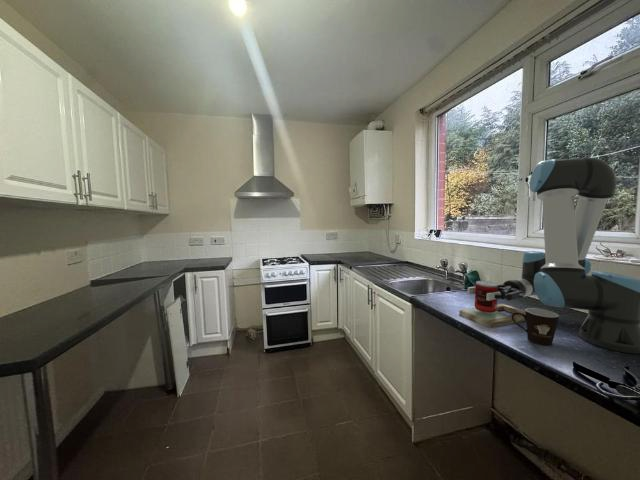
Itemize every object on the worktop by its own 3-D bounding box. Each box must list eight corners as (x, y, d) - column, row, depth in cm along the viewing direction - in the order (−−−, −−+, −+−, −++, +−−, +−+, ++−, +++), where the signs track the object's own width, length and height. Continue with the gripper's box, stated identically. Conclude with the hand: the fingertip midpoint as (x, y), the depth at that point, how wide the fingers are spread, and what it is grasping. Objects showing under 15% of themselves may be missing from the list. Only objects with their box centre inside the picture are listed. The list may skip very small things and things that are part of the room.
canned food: (489, 306, 112) (491, 280, 111) (500, 313, 104) (502, 286, 103) (470, 305, 112) (472, 280, 111) (480, 312, 105) (481, 285, 104)
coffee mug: (560, 342, 88) (562, 313, 87) (551, 350, 83) (554, 319, 82) (518, 330, 97) (520, 304, 96) (509, 336, 93) (510, 308, 92)
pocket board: (535, 318, 109) (536, 313, 108) (490, 327, 100) (490, 322, 100) (502, 307, 122) (502, 303, 121) (459, 314, 113) (459, 309, 113)
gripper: (542, 304, 104) (502, 311, 97) (493, 290, 124) (455, 295, 116) (544, 286, 104) (503, 291, 96) (494, 274, 123) (456, 278, 115)
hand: (477, 293), depth 106 cm, fingers closed on canned food, 8 cm apart
